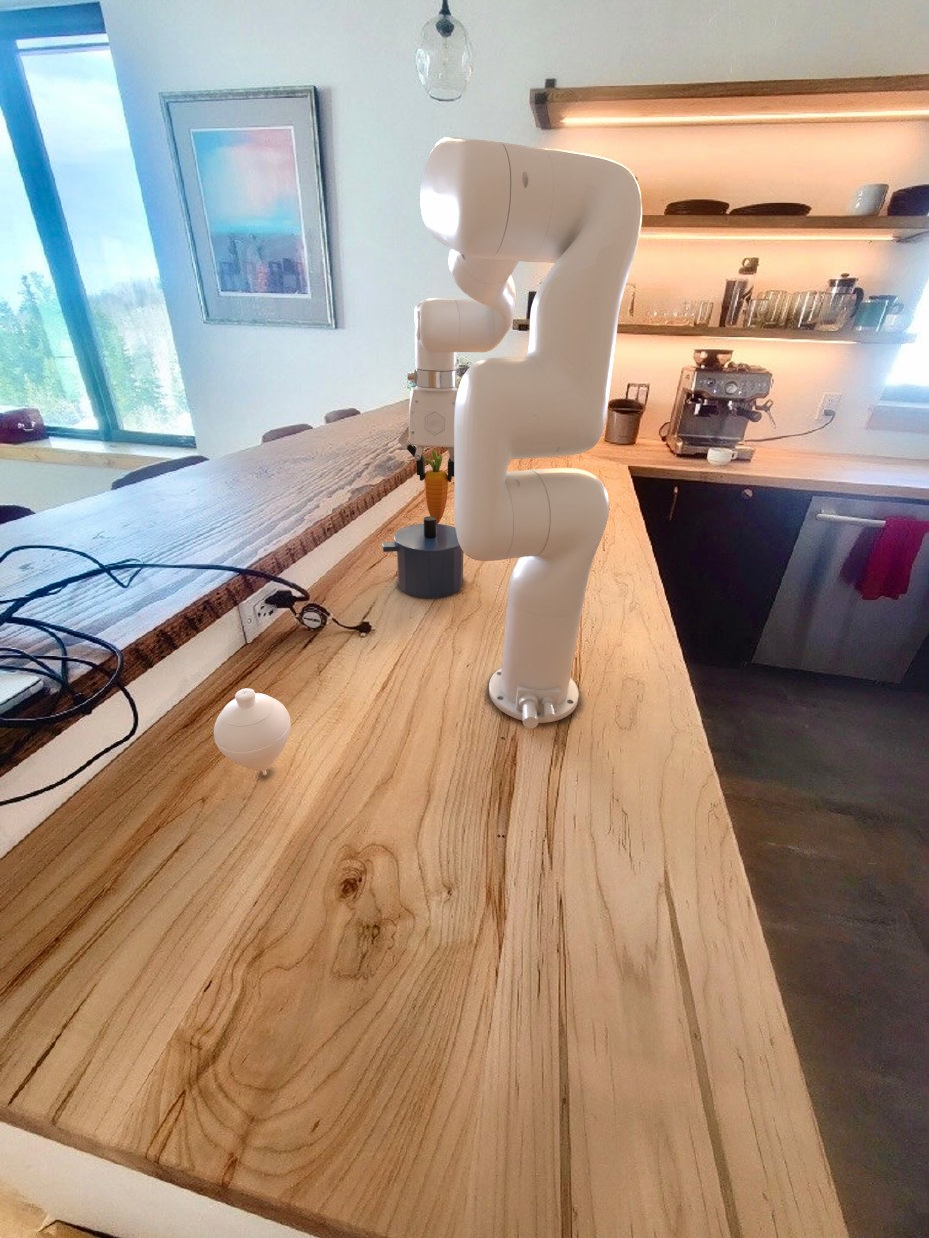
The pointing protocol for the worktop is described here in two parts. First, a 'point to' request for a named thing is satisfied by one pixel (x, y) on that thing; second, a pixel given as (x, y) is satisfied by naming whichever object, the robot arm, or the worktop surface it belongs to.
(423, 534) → the pot lid
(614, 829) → the worktop surface
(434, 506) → the carrot
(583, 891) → the worktop surface
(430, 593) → the pot
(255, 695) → the spinning top
